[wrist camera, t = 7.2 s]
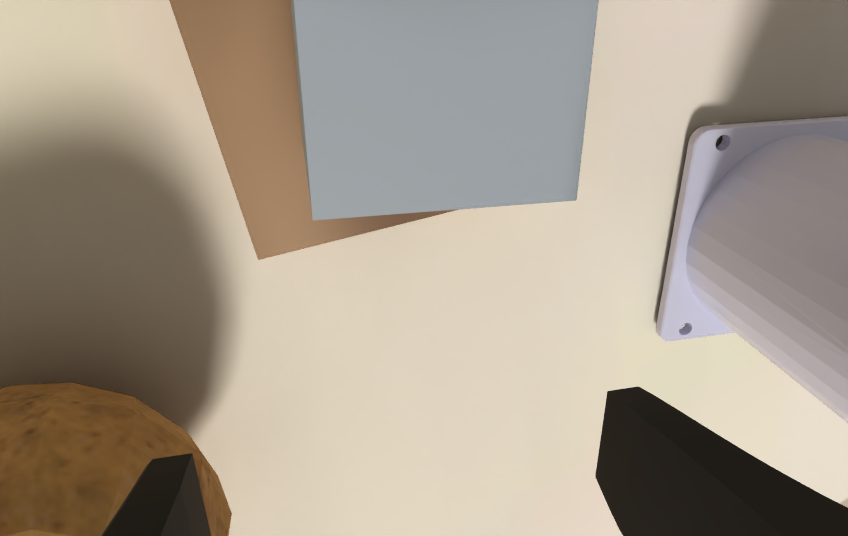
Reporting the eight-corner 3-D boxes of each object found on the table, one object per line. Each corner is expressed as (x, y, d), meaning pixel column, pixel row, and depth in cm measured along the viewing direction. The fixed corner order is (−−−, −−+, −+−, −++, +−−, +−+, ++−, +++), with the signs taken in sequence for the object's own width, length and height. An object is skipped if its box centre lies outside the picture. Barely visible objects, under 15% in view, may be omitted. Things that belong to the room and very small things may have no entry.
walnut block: (505, -186, 16) (550, -216, 13) (538, 151, 20) (577, 179, 17) (149, -121, 15) (121, -139, 12) (260, 219, 19) (258, 260, 17)
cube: (507, -82, 14) (610, -102, 10) (496, 136, 16) (576, 200, 12) (282, -84, 13) (284, -108, 9) (303, 147, 15) (312, 220, 11)
